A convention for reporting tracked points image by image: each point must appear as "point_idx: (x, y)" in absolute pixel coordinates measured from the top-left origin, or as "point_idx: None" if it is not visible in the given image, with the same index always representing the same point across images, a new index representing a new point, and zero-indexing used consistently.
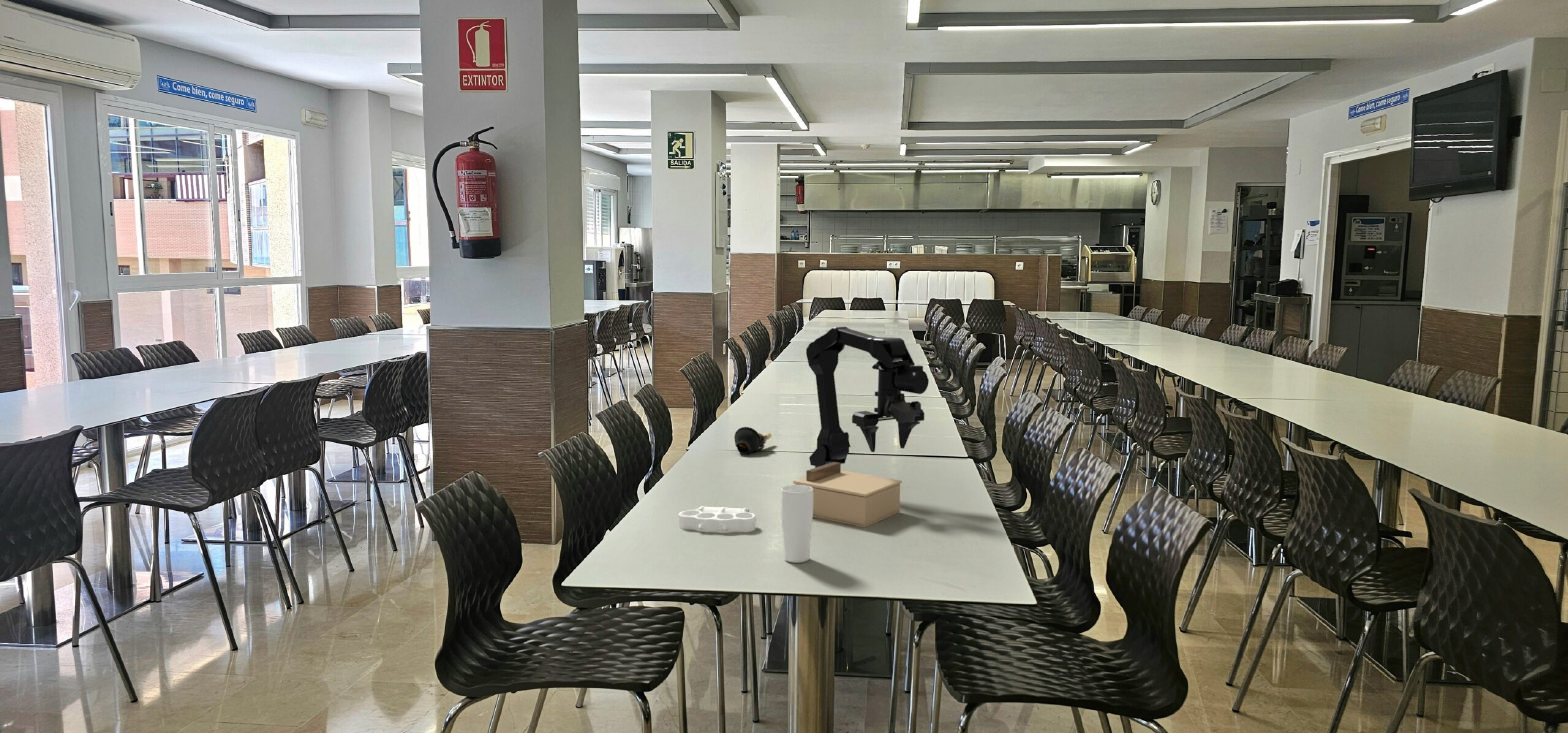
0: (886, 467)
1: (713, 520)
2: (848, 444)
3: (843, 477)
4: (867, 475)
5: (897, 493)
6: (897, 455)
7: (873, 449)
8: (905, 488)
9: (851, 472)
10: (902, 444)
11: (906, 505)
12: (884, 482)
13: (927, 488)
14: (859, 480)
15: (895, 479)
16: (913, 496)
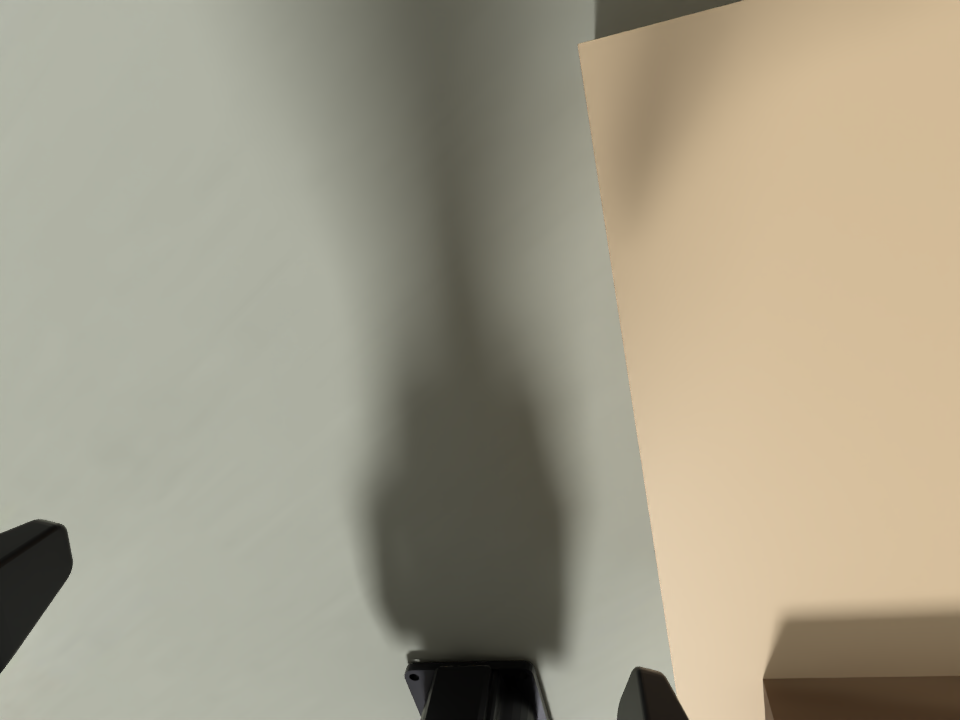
0: (16, 697)
1: None
2: None
3: (930, 579)
4: (673, 477)
5: None
6: None
7: (679, 714)
8: (140, 439)
9: (682, 627)
10: (11, 581)
11: (398, 166)
12: (851, 125)
13: (18, 356)
14: (956, 403)
15: (597, 144)
16: (203, 294)
